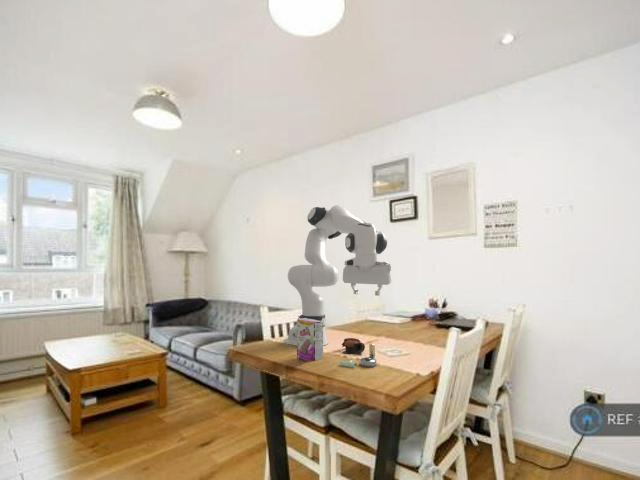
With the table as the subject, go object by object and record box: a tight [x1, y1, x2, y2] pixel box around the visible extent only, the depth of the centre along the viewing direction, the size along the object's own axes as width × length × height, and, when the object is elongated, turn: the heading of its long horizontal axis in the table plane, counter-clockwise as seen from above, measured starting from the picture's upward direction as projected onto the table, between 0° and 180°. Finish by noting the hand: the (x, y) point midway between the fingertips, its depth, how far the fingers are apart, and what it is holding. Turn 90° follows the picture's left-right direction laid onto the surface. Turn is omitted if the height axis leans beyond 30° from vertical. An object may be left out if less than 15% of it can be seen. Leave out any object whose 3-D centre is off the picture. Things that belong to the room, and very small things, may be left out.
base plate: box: [339, 360, 358, 369], centre depth 122 cm, size 22×19×4 cm
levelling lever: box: [359, 343, 378, 368], centre depth 124 cm, size 10×6×6 cm, turn 157°
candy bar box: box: [296, 318, 324, 363], centre depth 134 cm, size 11×5×16 cm, turn 44°
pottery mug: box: [341, 337, 366, 355], centre depth 141 cm, size 12×10×8 cm
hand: (366, 294), depth 135 cm, fingers open, 8 cm apart
